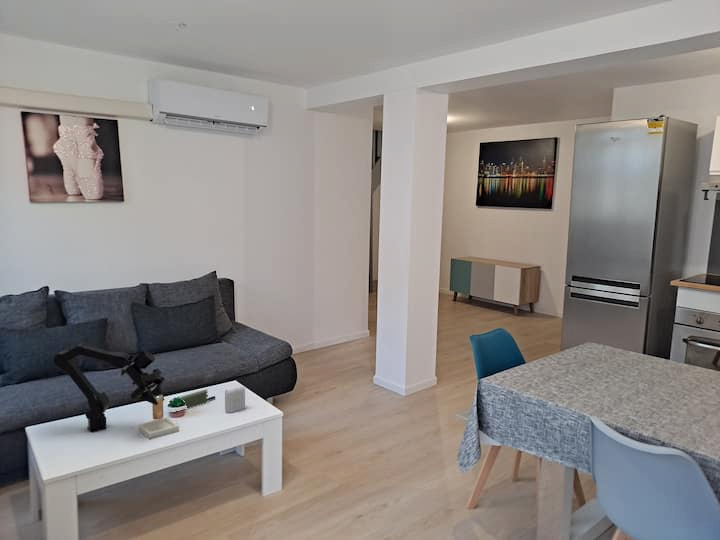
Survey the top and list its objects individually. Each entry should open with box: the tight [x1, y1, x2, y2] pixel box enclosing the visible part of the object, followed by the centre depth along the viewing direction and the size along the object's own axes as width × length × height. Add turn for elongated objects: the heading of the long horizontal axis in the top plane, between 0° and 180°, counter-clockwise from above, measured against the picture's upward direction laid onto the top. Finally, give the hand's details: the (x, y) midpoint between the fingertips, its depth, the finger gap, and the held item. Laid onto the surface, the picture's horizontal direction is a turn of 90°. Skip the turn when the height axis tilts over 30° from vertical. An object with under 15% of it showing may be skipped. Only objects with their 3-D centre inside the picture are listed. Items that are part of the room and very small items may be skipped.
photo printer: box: [224, 384, 246, 414], centre depth 260 cm, size 10×4×12 cm, turn 134°
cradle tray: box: [137, 417, 180, 440], centre depth 236 cm, size 13×13×2 cm
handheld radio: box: [170, 388, 216, 409], centre depth 266 cm, size 7×3×25 cm
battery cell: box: [151, 393, 164, 420], centre depth 234 cm, size 4×4×10 cm
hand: (160, 402), depth 234 cm, fingers closed on battery cell, 4 cm apart
